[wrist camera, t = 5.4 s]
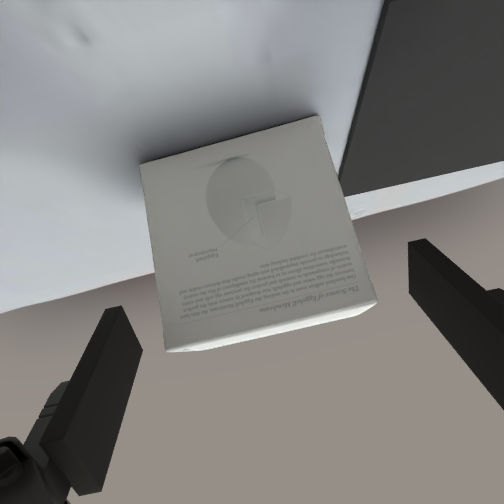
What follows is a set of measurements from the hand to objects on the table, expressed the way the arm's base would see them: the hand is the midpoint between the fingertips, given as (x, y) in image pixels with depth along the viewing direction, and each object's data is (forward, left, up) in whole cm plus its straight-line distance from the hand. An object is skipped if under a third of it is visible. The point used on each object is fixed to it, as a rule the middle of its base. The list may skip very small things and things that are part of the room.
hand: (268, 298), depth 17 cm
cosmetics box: (0, -4, -9) cm, 10 cm away
